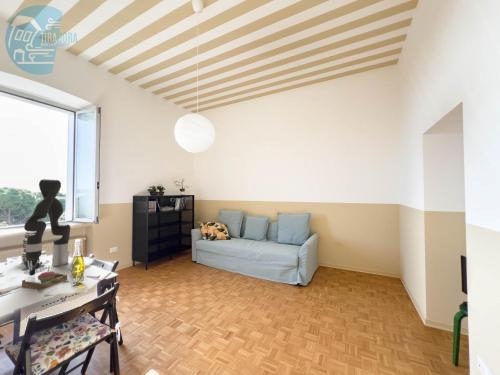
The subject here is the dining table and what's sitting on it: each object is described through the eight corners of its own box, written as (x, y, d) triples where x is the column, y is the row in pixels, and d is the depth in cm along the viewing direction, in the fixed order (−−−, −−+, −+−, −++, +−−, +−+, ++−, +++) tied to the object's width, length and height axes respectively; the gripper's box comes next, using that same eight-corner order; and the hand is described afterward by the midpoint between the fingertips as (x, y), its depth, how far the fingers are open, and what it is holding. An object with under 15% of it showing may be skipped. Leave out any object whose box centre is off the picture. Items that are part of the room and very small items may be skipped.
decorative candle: (33, 258, 181) (36, 230, 182) (39, 260, 177) (41, 231, 178) (19, 261, 172) (21, 232, 173) (24, 263, 169) (26, 233, 170)
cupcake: (57, 281, 141) (59, 264, 141) (41, 286, 133) (43, 268, 133) (50, 279, 144) (51, 262, 144) (34, 284, 136) (35, 265, 136)
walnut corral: (49, 276, 148) (50, 271, 148) (67, 279, 145) (67, 273, 145) (21, 286, 132) (22, 280, 132) (40, 289, 129) (40, 283, 129)
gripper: (47, 249, 144) (46, 274, 143) (32, 247, 146) (31, 272, 146) (35, 252, 136) (33, 278, 136) (19, 250, 139) (17, 276, 138)
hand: (32, 275), depth 141 cm, fingers closed
